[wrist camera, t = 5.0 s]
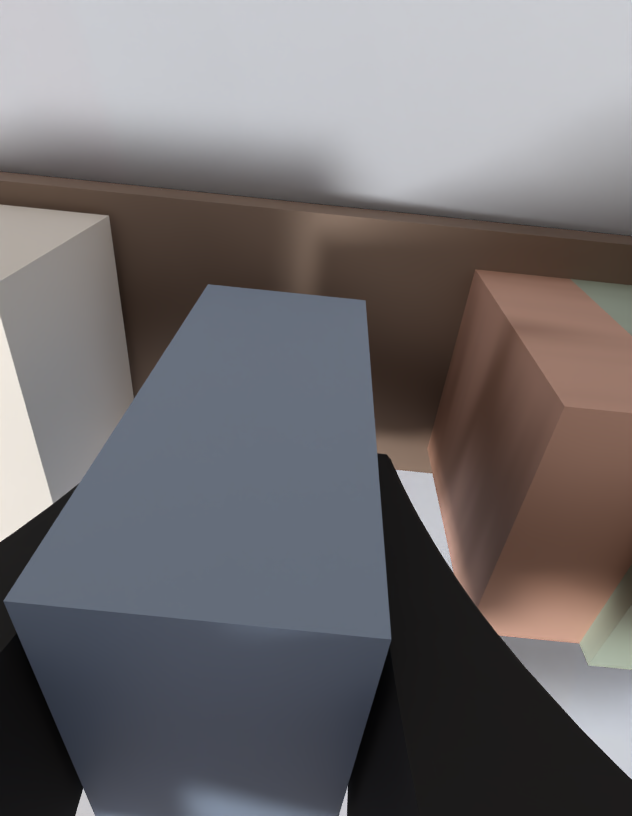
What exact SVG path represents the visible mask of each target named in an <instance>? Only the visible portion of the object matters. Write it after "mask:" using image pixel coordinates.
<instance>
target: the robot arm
mask: <svg viewBox="0 0 632 816" xmlns="http://www.w3.org/2000/svg"><path fill="white" fill-rule="evenodd" d="M377 457H378V470H379V484H380V497H381V510H382V523H383V536H384V549H385V562H386V575H387V589H388V602H389V615H390V628H391V642H390V646H389V649H388V652H387V656H386V659H385V662H384V666H383V669H382V672H381V676H380V679H379V683H378V686H377V689H376V693H375V696H374V699H373V703H372V706H371V709H370V713H369V716H368V719H367V723H366V726H365V729H364V733H363V736H362V739H361V743H360V746H359V749H358V753H357V756H356V759H355V763H354V766H353V769H352V773H351V776H350V779H349V783H348V803H347V816H632V779H631V778H629V777H628V776H627V775H626V774H625V773H624V772H623V771H622V770H621V769H620V768H619V767H618V766H617V765H616V764H615V763H614V762H613V761H612V760H611V759H610V758H609V757H608V756H607V755H606V754H605V753H604V752H603V751H602V750H601V749H600V748H599V747H598V746H597V745H596V744H595V743H594V742H593V741H592V740H591V739H590V738H589V737H588V736H587V734H586V733H585V732H584V731H583V730H582V729H581V728H580V727H579V726H578V725H577V724H576V723H575V722H574V721H573V720H572V719H571V717H570V716H569V715H568V714H567V713H566V712H565V711H564V710H563V709H562V708H561V706H560V705H559V704H558V703H557V702H556V701H555V700H554V699H553V698H552V697H551V695H550V694H549V693H548V692H547V691H546V690H545V689H544V688H543V687H542V686H541V684H540V683H539V682H538V681H537V680H536V679H535V678H534V677H533V676H532V674H531V673H530V672H529V671H528V670H527V669H526V668H525V667H524V665H523V664H522V663H521V662H520V661H519V659H518V658H517V657H516V656H515V655H514V653H513V652H512V651H511V650H510V649H509V647H508V646H507V645H506V644H505V642H504V641H503V640H502V639H501V638H500V636H499V635H498V634H497V633H496V631H495V630H494V629H493V627H492V626H491V625H490V623H489V622H488V621H487V620H486V618H485V617H484V616H483V614H482V613H481V612H480V610H479V609H478V608H477V606H476V605H475V604H474V602H473V601H472V599H471V598H470V597H469V595H468V594H467V592H466V591H465V590H464V588H463V587H462V585H461V584H460V582H459V581H458V579H457V578H456V576H455V575H454V573H453V572H452V570H451V569H450V567H449V566H448V564H447V563H446V561H445V560H444V558H443V557H442V555H441V553H440V552H439V550H438V548H437V547H436V545H435V544H434V542H433V540H432V538H431V537H430V535H429V533H428V532H427V530H426V528H425V526H424V525H423V523H422V521H421V520H420V518H419V516H418V514H417V512H416V510H415V509H414V507H413V505H412V503H411V501H410V499H409V497H408V495H407V493H406V491H405V489H404V487H403V485H402V483H401V481H400V479H399V477H398V475H397V472H396V470H395V468H394V465H393V463H392V461H391V459H390V458H389V456H388V455H387V454H380V453H377ZM78 485H79V484H77V485H76V486H75V487H74V488H72V489H71V490H70V491H69V492H67V493H66V494H65V495H64V496H62V497H61V498H60V499H59V500H57V501H56V502H55V503H53V504H52V505H51V506H49V507H48V508H47V509H45V510H44V511H42V512H41V513H40V514H38V515H37V516H36V517H34V518H33V519H32V520H30V521H29V522H27V523H26V524H25V525H23V526H22V527H21V528H19V529H18V530H16V531H15V532H14V533H12V534H11V535H9V536H8V537H6V538H5V539H4V540H2V541H1V542H0V816H75V814H76V811H77V807H78V804H79V800H80V797H81V794H82V790H83V786H82V784H81V781H80V779H79V777H78V774H77V772H76V770H75V767H74V765H73V763H72V760H71V758H70V756H69V753H68V751H67V749H66V746H65V744H64V742H63V739H62V737H61V735H60V732H59V730H58V728H57V725H56V723H55V721H54V718H53V716H52V714H51V711H50V709H49V707H48V704H47V702H46V700H45V697H44V695H43V693H42V690H41V688H40V686H39V683H38V681H37V679H36V676H35V674H34V672H33V669H32V667H31V665H30V662H29V660H28V658H27V655H26V653H25V651H24V648H23V646H22V644H21V641H20V639H19V637H18V634H17V632H16V630H15V627H14V625H13V623H12V620H11V618H10V616H9V613H8V611H7V609H6V606H5V604H4V602H3V601H4V599H5V598H6V596H7V595H8V593H9V592H10V590H11V588H12V587H13V585H14V584H15V582H16V581H17V579H18V578H19V576H20V574H21V573H22V571H23V570H24V568H25V567H26V565H27V564H28V562H29V561H30V559H31V557H32V556H33V554H34V553H35V551H36V550H37V548H38V547H39V545H40V544H41V542H42V540H43V539H44V537H45V536H46V534H47V533H48V531H49V530H50V528H51V526H52V525H53V523H54V522H55V520H56V519H57V517H58V516H59V514H60V513H61V511H62V509H63V508H64V506H65V505H66V503H67V502H68V500H69V499H70V497H71V496H72V494H73V492H74V491H75V489H76V488H77V486H78Z"/></svg>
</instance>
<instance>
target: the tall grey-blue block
mask: <svg viewBox="0 0 632 816" xmlns="http://www.w3.org/2000/svg"><path fill="white" fill-rule="evenodd" d="M3 602H4V604H5V606H6V609H7V611H8V613H9V616H10V618H11V620H12V623H13V625H14V627H15V630H16V632H17V634H18V637H19V639H20V641H21V644H22V646H23V648H24V651H25V653H26V655H27V658H28V660H29V662H30V665H31V667H32V669H33V672H34V674H35V676H36V679H37V681H38V683H39V686H40V688H41V690H42V693H43V695H44V697H45V700H46V702H47V704H48V707H49V709H50V711H51V714H52V716H53V718H54V721H55V723H56V725H57V728H58V730H59V732H60V735H61V737H62V739H63V742H64V744H65V746H66V749H67V751H68V753H69V756H70V758H71V760H72V763H73V765H74V767H75V770H76V772H77V774H78V777H79V779H80V781H81V784H82V786H83V788H84V791H85V793H86V795H87V798H88V800H89V802H90V805H91V807H92V809H93V812H94V814H95V816H339V813H340V809H341V806H342V803H343V799H344V796H345V793H346V789H347V786H348V783H349V779H350V776H351V773H352V769H353V766H354V763H355V759H356V756H357V753H358V749H359V746H360V743H361V739H362V736H363V733H364V729H365V726H366V723H367V719H368V716H369V713H370V709H371V706H372V703H373V699H374V696H375V693H376V689H377V686H378V683H379V679H380V676H381V672H382V669H383V666H384V662H385V659H386V656H387V652H388V649H389V646H390V642H391V628H390V615H389V602H388V589H387V575H386V562H385V549H384V536H383V523H382V510H381V497H380V484H379V470H378V457H377V444H376V431H375V418H374V405H373V392H372V379H371V366H370V352H369V339H368V326H367V313H366V300H357V299H347V298H338V297H328V296H318V295H308V294H298V293H289V292H279V291H269V290H259V289H249V288H240V287H230V286H220V285H210V284H208V285H207V287H206V288H205V290H204V291H203V293H202V294H201V296H200V297H199V299H198V300H197V302H196V304H195V305H194V307H193V308H192V310H191V311H190V313H189V314H188V316H187V317H186V319H185V321H184V322H183V324H182V325H181V327H180V328H179V330H178V331H177V333H176V335H175V336H174V338H173V339H172V341H171V342H170V344H169V345H168V347H167V348H166V350H165V352H164V353H163V355H162V356H161V358H160V359H159V361H158V362H157V364H156V365H155V367H154V369H153V370H152V372H151V373H150V375H149V376H148V378H147V379H146V381H145V383H144V384H143V386H142V387H141V389H140V390H139V392H138V393H137V395H136V396H135V398H134V400H133V401H132V403H131V404H130V406H129V407H128V409H127V410H126V412H125V413H124V415H123V417H122V418H121V420H120V421H119V423H118V424H117V426H116V427H115V429H114V431H113V432H112V434H111V435H110V437H109V438H108V440H107V441H106V443H105V444H104V446H103V448H102V449H101V451H100V452H99V454H98V455H97V457H96V458H95V460H94V461H93V463H92V465H91V466H90V468H89V469H88V471H87V472H86V474H85V475H84V477H83V478H82V480H81V482H80V483H79V485H78V486H77V488H76V489H75V491H74V492H73V494H72V496H71V497H70V499H69V500H68V502H67V503H66V505H65V506H64V508H63V509H62V511H61V513H60V514H59V516H58V517H57V519H56V520H55V522H54V523H53V525H52V526H51V528H50V530H49V531H48V533H47V534H46V536H45V537H44V539H43V540H42V542H41V544H40V545H39V547H38V548H37V550H36V551H35V553H34V554H33V556H32V557H31V559H30V561H29V562H28V564H27V565H26V567H25V568H24V570H23V571H22V573H21V574H20V576H19V578H18V579H17V581H16V582H15V584H14V585H13V587H12V588H11V590H10V592H9V593H8V595H7V596H6V598H5V599H4V601H3Z"/></svg>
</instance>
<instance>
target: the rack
mask: <svg viewBox="0 0 632 816" xmlns="http://www.w3.org/2000/svg"><path fill="white" fill-rule="evenodd" d="M0 204H1V205H10V206H20V207H30V208H40V209H50V210H59V211H69V212H79V213H89V214H99V215H108V216H109V220H110V227H111V234H112V242H113V249H114V256H115V264H116V271H117V278H118V286H119V293H120V300H121V308H122V315H123V322H124V330H125V337H126V344H127V351H128V359H129V366H130V373H131V381H132V388H133V395H134V398H135V396H136V395H137V393H138V392H139V390H140V389H141V387H142V386H143V384H144V383H145V381H146V379H147V378H148V376H149V375H150V373H151V372H152V370H153V369H154V367H155V365H156V364H157V362H158V361H159V359H160V358H161V356H162V355H163V353H164V352H165V350H166V348H167V347H168V345H169V344H170V342H171V341H172V339H173V338H174V336H175V335H176V333H177V331H178V330H179V328H180V327H181V325H182V324H183V322H184V321H185V319H186V317H187V316H188V314H189V313H190V311H191V310H192V308H193V307H194V305H195V304H196V302H197V300H198V299H199V297H200V296H201V294H202V293H203V291H204V290H205V288H206V287H207V285H208V284H210V285H220V286H230V287H240V288H249V289H259V290H269V291H279V292H289V293H298V294H308V295H318V296H328V297H338V298H347V299H357V300H366V313H367V326H368V339H369V352H370V366H371V379H372V392H373V405H374V418H375V431H376V444H377V453H380V454H387V455H388V456H389V458H390V459H391V461H392V463H393V465H394V468H395V470H405V471H415V472H425V473H433V478H434V482H435V487H436V492H437V496H438V501H439V506H440V510H441V515H442V520H443V524H444V529H445V534H446V538H447V543H448V548H449V552H450V557H451V562H452V566H453V571H454V575H455V576H456V578H457V579H458V581H459V582H460V584H461V585H462V587H463V588H464V590H465V591H466V592H467V594H468V595H469V597H470V598H471V599H472V601H473V602H474V604H475V605H476V606H477V608H478V609H479V610H480V612H481V613H482V614H483V616H484V617H485V618H486V620H487V621H488V622H489V623H490V625H491V626H492V627H493V629H494V630H495V631H496V633H497V634H498V635H499V636H509V637H519V638H529V639H539V640H550V641H560V642H570V643H579V644H580V646H581V649H582V651H583V654H584V656H585V659H586V661H587V663H588V666H598V667H608V668H618V669H629V670H632V236H625V235H615V234H605V233H595V232H586V231H576V230H566V229H556V228H547V227H537V226H527V225H517V224H507V223H498V222H488V221H478V220H468V219H459V218H449V217H439V216H429V215H420V214H410V213H400V212H390V211H380V210H371V209H361V208H351V207H341V206H332V205H322V204H312V203H302V202H292V201H283V200H273V199H263V198H253V197H244V196H234V195H224V194H214V193H204V192H195V191H185V190H175V189H165V188H156V187H146V186H136V185H126V184H116V183H107V182H97V181H87V180H77V179H68V178H58V177H48V176H38V175H29V174H19V173H9V172H0Z"/></svg>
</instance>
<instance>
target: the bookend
mask: <svg viewBox="0 0 632 816" xmlns="http://www.w3.org/2000/svg"><path fill="white" fill-rule="evenodd" d="M133 400H134V395H133V388H132V381H131V373H130V366H129V359H128V351H127V344H126V337H125V330H124V322H123V315H122V308H121V300H120V293H119V286H118V278H117V271H116V264H115V256H114V249H113V242H112V234H111V227H110V220H109V216H108V215H99V214H89V213H79V212H69V211H59V210H50V209H40V208H30V207H20V206H10V205H1V204H0V542H1V541H2V540H4V539H5V538H6V537H8V536H9V535H11V534H12V533H14V532H15V531H16V530H18V529H19V528H21V527H22V526H23V525H25V524H26V523H27V522H29V521H30V520H32V519H33V518H34V517H36V516H37V515H38V514H40V513H41V512H42V511H44V510H45V509H47V508H48V507H49V506H51V505H52V504H53V503H55V502H56V501H57V500H59V499H60V498H61V497H62V496H64V495H65V494H66V493H67V492H69V491H70V490H71V489H72V488H74V487H75V486H76V485H77V484H79V483H80V482H81V480H82V478H83V477H84V475H85V474H86V472H87V471H88V469H89V468H90V466H91V465H92V463H93V461H94V460H95V458H96V457H97V455H98V454H99V452H100V451H101V449H102V448H103V446H104V444H105V443H106V441H107V440H108V438H109V437H110V435H111V434H112V432H113V431H114V429H115V427H116V426H117V424H118V423H119V421H120V420H121V418H122V417H123V415H124V413H125V412H126V410H127V409H128V407H129V406H130V404H131V403H132V401H133Z"/></svg>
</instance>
